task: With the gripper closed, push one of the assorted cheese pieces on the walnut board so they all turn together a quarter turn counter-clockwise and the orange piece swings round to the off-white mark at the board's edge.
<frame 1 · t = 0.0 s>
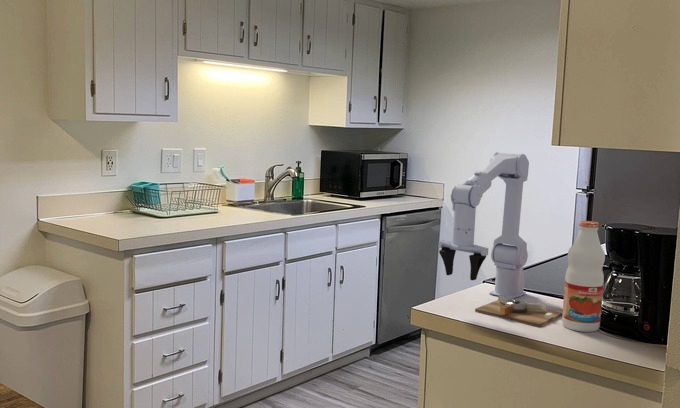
hand: (461, 277, 181), 10 cm above the worktop, tool pointing down, fingers open, 7 cm apart
board: (518, 313, 183), on the worktop
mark: (548, 320, 177), resting on board
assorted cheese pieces: (513, 306, 182), point 2 cm above the worktop, hinge at 0.0°
fruit juice: (580, 327, 173), on the worktop
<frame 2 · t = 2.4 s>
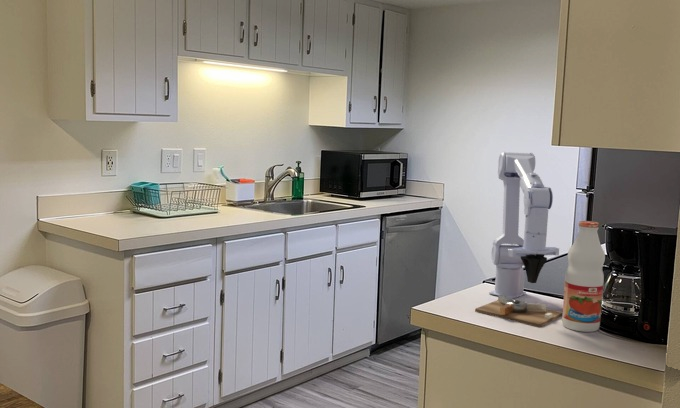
hand: (531, 282, 176), 10 cm above the worktop, tool pointing down, fingers closed
nothing on the worktop moved.
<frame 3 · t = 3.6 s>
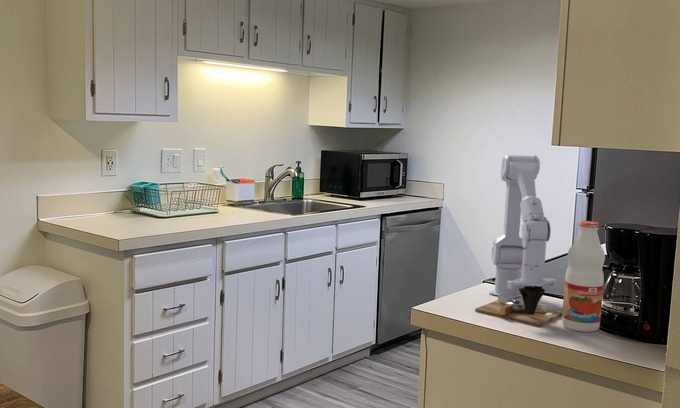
hand: (529, 313, 177), 2 cm above the worktop, tool pointing down, fingers closed
nothing on the worktop moved.
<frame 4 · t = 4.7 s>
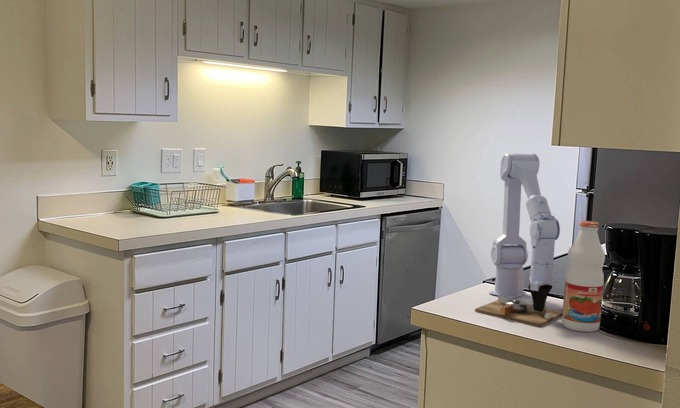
hand: (538, 310, 180), 2 cm above the worktop, tool pointing down, fingers closed
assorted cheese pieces: (513, 306, 182), point 2 cm above the worktop, hinge at 0.0°, touching gripper
everything else where it was.
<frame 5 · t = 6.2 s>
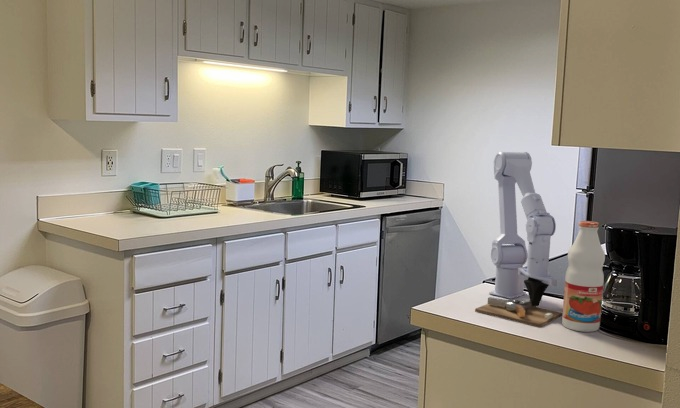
hand: (534, 305, 186), 2 cm above the worktop, tool pointing down, fingers closed, pressing on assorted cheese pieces
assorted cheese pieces: (517, 306, 182), point 2 cm above the worktop, hinge at 38.7°, touching gripper
everything else where it was.
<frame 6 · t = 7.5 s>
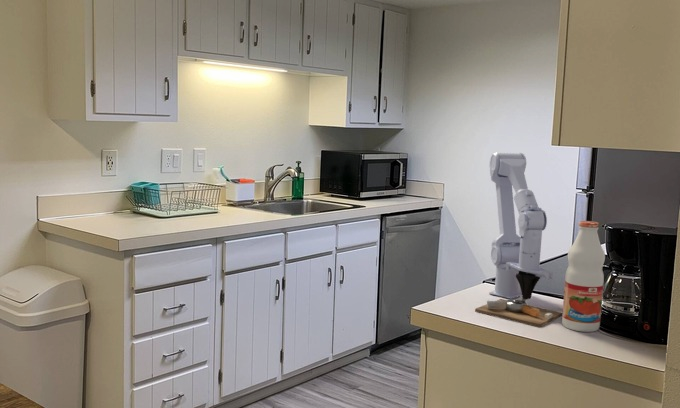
hand: (526, 298, 188), 3 cm above the worktop, tool pointing down, fingers closed, pressing on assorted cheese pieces
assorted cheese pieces: (520, 306, 182), point 2 cm above the worktop, hinge at 71.5°, touching gripper
everything else where it was.
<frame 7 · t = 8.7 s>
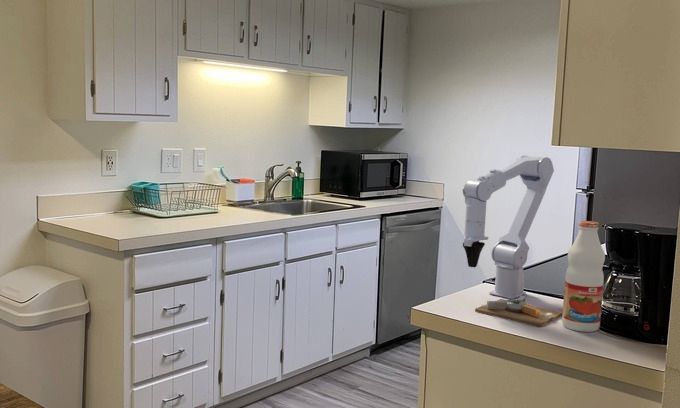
hand: (472, 266, 193), 10 cm above the worktop, tool pointing down, fingers closed
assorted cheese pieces: (520, 306, 182), point 2 cm above the worktop, hinge at 71.5°
everything else where it was.
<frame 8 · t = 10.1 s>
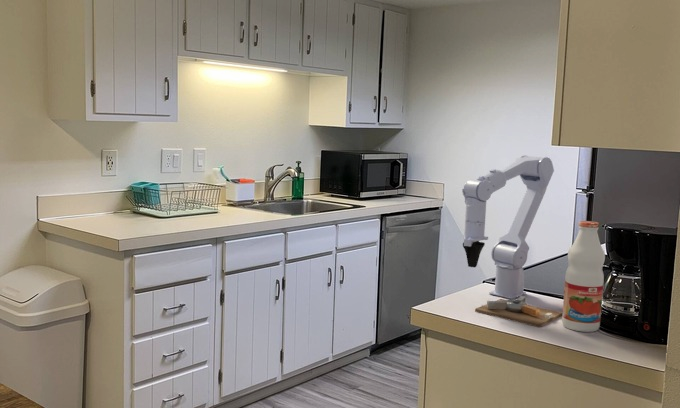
hand: (472, 266, 193), 10 cm above the worktop, tool pointing down, fingers closed
nothing on the worktop moved.
at the end: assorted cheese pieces at +72° (first picture: +0°) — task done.
